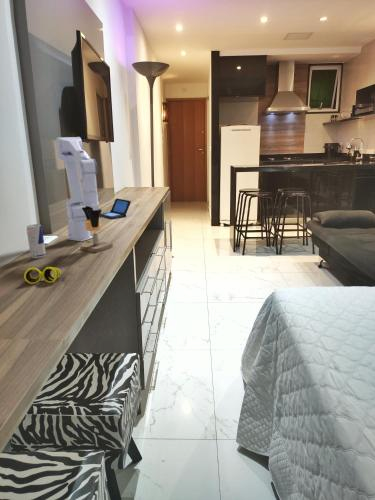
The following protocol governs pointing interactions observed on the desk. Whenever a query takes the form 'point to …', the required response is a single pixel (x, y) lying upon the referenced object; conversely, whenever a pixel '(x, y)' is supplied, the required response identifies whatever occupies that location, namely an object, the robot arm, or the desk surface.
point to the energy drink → (36, 241)
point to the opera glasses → (45, 274)
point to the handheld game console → (117, 209)
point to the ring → (89, 226)
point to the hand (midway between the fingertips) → (93, 225)
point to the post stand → (96, 245)
